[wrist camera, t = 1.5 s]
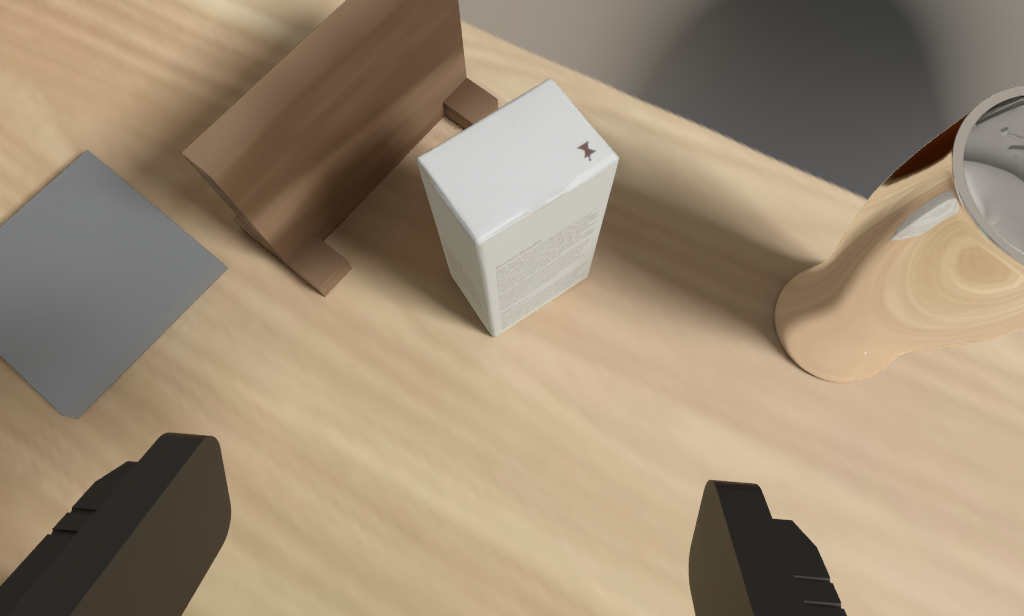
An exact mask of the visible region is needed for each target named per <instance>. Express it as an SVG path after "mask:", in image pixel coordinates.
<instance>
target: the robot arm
mask: <svg viewBox="0 0 1024 616" xmlns="http://www.w3.org/2000/svg"><path fill="white" fill-rule="evenodd" d="M230 520H231V504H230V498H229V493H228V487H227V482H226V476H225V471H224V465H223V460H222V455H221V449H220V445H219V442H218V440H217V439H216V438H215V437H213V436H205V435H193V434H181V433H165V434H163V435H162V436H160V437H159V438H158V439H157V441H156V442H155V443H154V444H153V445H152V446H151V448H150V449H149V450H148V451H147V452H146V453H145V454H144V456H143V457H142V458H141V459H140V460H139V461H138V462H131V461H127V462H125V463H124V464H122V465H121V466H119V467H118V468H116V469H115V470H113V471H111V472H110V473H108V474H107V475H105V476H104V477H102V478H101V479H99V480H97V481H96V482H95V483H94V484H93V485H92V486H91V487H90V488H89V489H88V490H87V491H86V493H85V494H84V495H83V496H82V497H81V498H80V499H79V500H78V501H77V502H76V504H75V505H74V506H73V507H72V511H71V513H66V515H65V516H64V517H63V518H62V519H61V520H60V521H59V522H58V523H57V525H56V526H55V527H54V528H53V532H52V534H51V535H50V534H47V536H46V537H45V538H44V539H43V540H42V541H41V542H40V543H39V544H38V545H37V547H36V548H35V549H34V550H33V551H32V552H31V553H30V554H29V555H28V556H27V558H26V559H25V560H24V561H23V562H22V563H21V564H20V565H19V566H18V567H17V569H16V570H15V571H14V572H13V573H12V574H11V575H10V576H9V577H8V578H7V580H6V581H5V582H4V583H3V584H2V585H1V586H0V616H181V615H182V614H183V612H184V610H185V609H186V607H187V605H188V603H189V602H190V600H191V598H192V597H193V595H194V593H195V592H196V590H197V588H198V586H199V585H200V583H201V581H202V580H203V578H204V576H205V575H206V573H207V571H208V569H209V568H210V566H211V564H212V563H213V561H214V559H215V558H216V556H217V554H218V552H219V551H220V549H221V547H222V545H223V544H224V541H225V539H226V536H227V533H228V530H229V525H230ZM689 583H690V590H691V595H692V600H693V605H694V610H695V615H696V616H847V615H846V613H845V610H844V609H841V601H840V599H839V597H838V594H837V592H836V590H835V588H834V585H833V583H830V576H829V574H828V572H827V569H826V567H825V565H824V563H823V560H822V558H821V556H820V553H819V551H818V549H817V547H816V546H815V545H814V544H813V543H812V542H811V540H810V539H809V538H808V537H807V536H806V535H805V534H804V533H803V532H802V531H801V530H800V529H799V527H798V526H797V525H796V524H795V523H794V522H793V521H792V520H781V519H772V516H771V514H770V511H769V508H768V506H767V503H766V501H765V498H764V495H763V493H762V490H761V488H760V487H759V486H758V485H757V484H752V483H740V482H728V481H717V480H709V481H708V482H707V484H706V486H705V489H704V493H703V497H702V501H701V505H700V510H699V514H698V518H697V522H696V526H695V531H694V535H693V539H692V543H691V548H690V554H689Z"/></svg>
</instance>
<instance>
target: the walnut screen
mask: <svg viewBox="0 0 1024 616" xmlns="http://www.w3.org/2000/svg"><path fill="white" fill-rule="evenodd" d="M496 110H498V99H497V98H495V97H494V96H492V95H491V94H489V93H488V92H487V91H485V90H484V89H482V88H481V87H479V86H478V85H476V84H475V83H474V82H472V81H471V80H469V79H468V78H466V68H465V59H464V50H463V41H462V32H461V22H460V13H459V4H458V0H346V1H345V2H344V3H343V4H342V5H341V6H339V7H338V8H337V9H336V10H335V11H334V12H333V13H332V14H331V15H330V16H329V17H328V18H326V19H325V20H324V21H323V22H322V23H321V24H320V25H319V26H318V27H317V28H316V29H315V30H314V31H312V32H311V33H310V34H309V35H308V36H307V37H306V38H305V39H304V40H303V41H302V42H301V43H299V44H298V45H297V46H296V47H295V48H294V49H293V50H292V51H291V52H290V53H289V54H288V55H287V56H285V57H284V58H283V59H282V60H281V61H280V62H279V63H278V64H277V65H276V66H275V67H274V68H273V69H271V70H270V71H269V72H268V73H267V74H266V75H265V76H264V77H263V78H262V79H261V80H260V81H258V82H257V83H256V84H255V85H254V86H253V87H252V88H251V89H250V90H249V91H248V92H247V93H246V94H244V95H243V96H242V97H241V98H240V99H239V100H238V101H237V102H236V103H235V104H234V105H233V106H231V107H230V108H229V109H228V110H227V111H226V112H225V113H224V114H223V115H222V116H221V117H220V118H219V119H217V120H216V121H215V122H214V123H213V124H212V125H211V126H210V127H209V128H208V129H207V130H206V131H205V132H203V133H202V134H201V135H200V136H199V137H198V138H197V139H196V140H195V141H194V142H193V143H192V144H190V145H189V146H188V147H187V148H186V149H185V150H184V151H183V152H182V154H183V155H184V156H185V157H186V159H187V160H188V161H189V162H190V163H191V164H192V165H193V166H194V167H195V169H196V170H197V171H198V172H199V173H200V174H201V175H202V176H203V177H204V179H205V180H206V181H207V182H208V183H209V184H210V185H211V186H212V187H213V189H214V190H215V191H216V192H217V193H218V194H219V195H220V196H221V197H222V199H223V200H224V201H225V202H226V203H227V204H228V205H229V206H230V207H231V209H232V210H233V211H234V212H235V213H236V214H237V215H238V216H237V217H236V218H235V219H233V220H234V221H235V222H236V223H237V224H238V225H239V226H240V227H241V228H242V229H243V230H244V231H245V232H246V233H247V234H249V235H250V236H251V237H252V238H254V239H255V240H256V241H257V242H258V243H260V244H261V245H262V246H263V247H265V248H266V249H267V250H268V251H269V252H271V253H272V254H273V255H274V256H276V257H277V258H278V259H279V260H280V261H282V262H283V263H284V264H285V265H287V266H288V267H289V268H290V269H291V270H293V271H294V272H295V273H296V274H298V275H299V276H300V277H301V278H302V279H304V280H305V281H306V282H307V283H309V284H310V285H311V286H312V287H313V288H315V289H316V290H317V291H318V292H320V293H321V294H322V295H323V296H324V297H325V296H326V295H327V294H328V293H329V292H330V291H331V290H332V289H333V287H334V286H335V285H336V284H337V283H338V282H339V281H340V280H341V279H342V278H343V277H344V276H345V275H346V274H347V273H348V272H349V270H350V269H351V267H350V265H349V263H348V262H347V260H346V259H345V258H343V257H342V256H341V255H340V254H338V253H337V252H336V251H335V250H333V249H332V248H331V247H330V246H328V245H327V244H326V243H325V242H323V241H324V240H325V239H326V238H327V237H328V236H329V235H330V234H331V233H332V232H333V231H334V229H335V228H336V227H337V226H338V225H339V224H340V223H341V222H342V221H343V220H344V219H345V218H346V217H347V216H348V215H349V214H350V213H351V212H352V211H353V210H354V209H355V208H356V207H357V206H358V205H359V204H360V203H361V201H362V200H363V199H364V198H365V197H366V196H367V195H368V194H369V193H370V192H371V191H372V190H373V189H374V188H375V187H376V186H377V185H378V184H379V183H380V182H381V181H382V180H383V179H384V178H385V177H386V176H387V174H388V173H389V172H390V171H391V170H392V169H393V168H394V167H395V166H396V165H397V164H398V163H399V162H400V161H401V160H402V159H403V158H404V157H405V156H406V155H407V154H408V153H409V152H410V151H411V150H412V149H413V148H414V146H415V145H416V144H417V143H418V142H419V141H420V140H421V139H422V138H423V137H424V136H425V135H426V134H427V133H428V132H429V131H430V130H431V129H432V128H433V127H434V126H435V125H436V124H437V123H438V122H439V121H440V120H441V118H442V117H443V116H444V115H446V116H447V117H449V118H450V119H451V120H453V121H454V122H456V123H457V124H459V125H460V126H461V127H463V128H464V129H466V128H468V127H470V126H472V125H473V124H475V123H476V122H478V121H480V120H481V119H483V118H485V117H486V116H488V115H489V114H491V113H493V112H494V111H496Z"/></svg>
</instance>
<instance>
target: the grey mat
mask: <svg viewBox="0 0 1024 616" xmlns="http://www.w3.org/2000/svg"><path fill="white" fill-rule="evenodd" d="M227 269H228V268H227V267H226V266H225V265H224V264H223V263H222V262H221V261H220V260H218V259H217V258H216V257H215V256H214V255H213V254H211V253H210V252H209V251H208V250H207V249H205V248H204V247H203V246H202V245H201V244H199V243H198V242H197V241H196V240H195V239H193V238H192V237H191V236H190V235H189V234H188V233H186V232H185V231H184V230H183V229H182V228H180V227H179V226H178V225H177V224H176V223H174V222H173V221H172V220H171V219H170V218H168V217H167V216H166V215H165V214H164V213H162V212H161V211H160V210H159V209H158V208H157V207H155V206H154V205H153V204H152V203H151V202H149V201H148V200H147V199H146V198H145V197H143V196H142V195H141V194H140V193H139V192H137V191H136V190H135V189H134V188H133V187H131V186H130V185H129V184H128V183H127V182H126V181H124V180H123V179H122V178H121V177H120V176H118V175H117V174H116V173H115V172H114V171H112V170H111V169H110V168H109V167H108V166H106V165H105V164H104V163H103V162H102V161H100V160H99V159H98V158H97V157H96V156H95V155H93V154H92V153H91V152H90V151H89V150H86V151H85V152H84V153H83V154H82V155H81V156H80V157H79V158H77V159H76V160H75V161H74V162H73V163H72V164H71V165H69V166H68V167H67V168H66V169H65V170H64V171H63V172H62V173H60V174H59V175H58V176H57V177H56V178H55V179H54V180H53V181H51V182H50V183H49V184H48V185H47V186H46V187H45V188H44V189H42V190H41V191H40V192H39V193H38V194H37V195H36V196H34V197H33V198H32V199H31V200H30V201H29V202H28V203H27V204H25V205H24V206H23V207H22V208H21V209H20V210H19V211H18V212H16V213H15V214H14V215H13V216H12V217H11V218H10V219H9V220H7V221H6V222H5V223H4V224H3V225H2V226H1V227H0V356H1V357H2V358H3V359H4V360H5V361H6V362H7V363H8V364H9V365H11V366H12V367H13V368H14V369H15V370H16V371H17V372H18V373H19V374H20V375H21V376H22V377H23V378H24V379H25V380H26V381H27V382H28V383H29V384H30V385H31V386H32V387H33V388H34V389H35V390H36V391H37V392H38V393H39V394H40V395H42V396H43V397H44V398H45V399H46V400H47V401H48V402H49V403H50V404H51V405H52V406H53V407H54V408H55V409H56V410H57V411H58V412H59V413H60V414H61V415H64V416H68V417H72V418H76V419H78V418H79V417H80V416H81V415H82V414H83V413H84V412H85V411H86V410H87V409H88V408H89V407H90V406H91V405H92V404H93V403H94V402H95V401H96V400H97V399H98V398H99V397H100V396H101V395H102V394H103V393H104V392H105V391H106V390H107V389H108V388H109V387H110V386H111V385H112V384H113V383H114V382H115V381H116V380H117V379H118V378H119V377H120V376H121V375H122V374H123V373H124V372H125V371H126V370H127V369H128V368H129V367H130V366H131V365H132V364H133V363H134V362H135V361H136V360H137V359H138V358H139V357H140V356H141V355H142V354H143V353H144V352H145V351H146V350H147V349H148V348H149V347H150V346H151V345H152V344H153V343H154V342H155V341H156V340H157V339H158V338H159V337H160V336H161V335H162V334H163V333H164V332H165V331H166V330H167V329H168V328H169V327H170V326H171V325H172V324H173V323H174V322H175V321H176V320H177V319H178V318H179V317H180V316H181V315H182V314H183V313H184V312H185V311H186V310H187V309H188V308H189V307H190V306H191V305H192V304H193V303H194V302H195V301H196V300H197V299H198V298H199V297H200V296H201V295H202V294H203V293H204V292H205V291H206V290H207V289H208V288H209V287H210V286H211V285H212V284H213V283H214V282H215V281H216V280H217V279H218V278H219V277H220V276H221V275H222V274H223V273H224V272H225V271H226V270H227Z"/></svg>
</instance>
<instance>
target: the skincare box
mask: <svg viewBox="0 0 1024 616" xmlns="http://www.w3.org/2000/svg"><path fill="white" fill-rule="evenodd" d="M618 161H619V157H618V155H617V154H616V153H615V152H614V151H613V150H612V148H611V147H610V146H609V145H608V144H607V143H606V142H605V140H604V139H603V138H602V137H601V136H600V135H599V134H598V132H597V131H596V130H595V129H594V128H593V127H592V125H591V124H590V123H589V122H588V121H587V120H586V119H585V117H584V116H583V115H582V114H581V113H580V111H579V110H578V109H577V108H576V107H575V105H574V104H573V103H572V102H571V101H570V99H569V98H568V97H567V96H566V95H565V93H564V92H563V91H562V90H561V89H560V88H559V87H558V85H557V84H556V83H555V82H554V81H553V80H552V79H548V80H546V81H544V82H543V83H541V84H539V85H538V86H536V87H534V88H533V89H531V90H529V91H528V92H526V93H524V94H523V95H521V96H519V97H518V98H516V99H514V100H512V101H511V102H509V103H508V104H506V105H504V106H503V107H501V108H499V109H498V110H496V111H494V112H493V113H491V114H489V115H488V116H486V117H485V118H483V119H481V120H480V121H478V122H476V123H475V124H473V125H472V126H470V127H468V128H466V129H465V130H463V131H461V132H460V133H458V134H456V135H455V136H453V137H451V138H450V139H448V140H447V141H445V142H443V143H442V144H440V145H438V146H436V147H435V148H433V149H431V150H430V151H428V152H426V153H424V154H422V155H421V156H419V157H418V158H417V164H418V167H419V171H420V174H421V177H422V181H423V184H424V187H425V190H426V194H427V197H428V201H429V204H430V207H431V210H432V213H433V217H434V220H435V223H436V227H437V230H438V234H439V237H440V240H441V244H442V247H443V250H444V254H445V257H446V260H447V264H448V267H449V271H450V274H451V276H452V278H453V279H454V281H455V282H456V284H457V285H458V287H459V288H460V290H461V291H462V293H463V294H464V296H465V297H466V299H467V300H468V302H469V303H470V305H471V306H472V308H473V309H474V311H475V312H476V314H477V315H478V317H479V318H480V320H481V321H482V323H483V324H484V325H485V327H486V328H487V330H488V331H489V333H490V334H491V335H492V336H493V337H497V336H498V335H499V334H501V333H502V332H504V331H506V330H507V329H509V328H510V327H512V326H513V325H515V324H516V323H518V322H519V321H521V320H523V319H524V318H526V317H527V316H529V315H530V314H532V313H533V312H535V311H536V310H538V309H540V308H541V307H543V306H544V305H545V304H547V303H549V302H550V301H552V300H553V299H555V298H556V297H558V296H559V295H561V294H562V293H564V292H565V291H567V290H568V289H570V288H572V287H573V286H575V285H576V284H578V283H579V282H581V281H582V280H584V279H586V278H587V277H588V275H589V271H590V268H591V264H592V260H593V256H594V252H595V248H596V244H597V240H598V237H599V233H600V229H601V226H602V221H603V218H604V214H605V210H606V206H607V202H608V199H609V195H610V191H611V188H612V184H613V180H614V176H615V173H616V169H617V164H618Z"/></svg>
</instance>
